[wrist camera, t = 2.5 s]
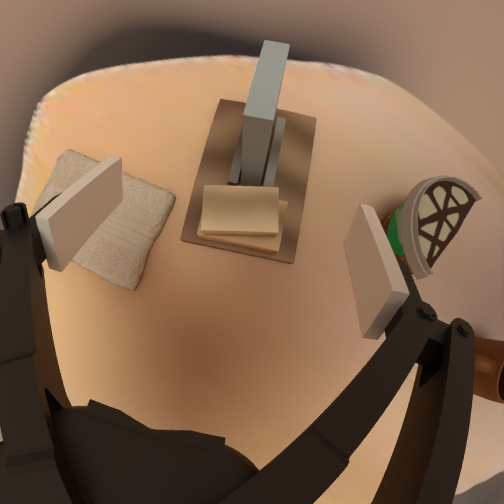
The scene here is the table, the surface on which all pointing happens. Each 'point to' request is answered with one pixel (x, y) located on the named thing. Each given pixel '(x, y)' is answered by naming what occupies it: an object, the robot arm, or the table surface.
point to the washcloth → (114, 222)
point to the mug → (489, 369)
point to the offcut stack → (243, 216)
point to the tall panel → (261, 111)
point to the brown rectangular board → (274, 175)
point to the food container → (428, 221)
